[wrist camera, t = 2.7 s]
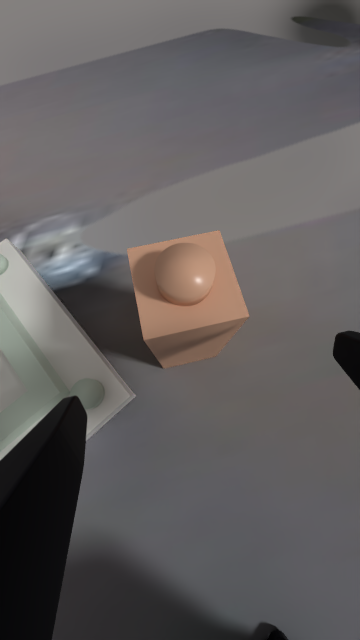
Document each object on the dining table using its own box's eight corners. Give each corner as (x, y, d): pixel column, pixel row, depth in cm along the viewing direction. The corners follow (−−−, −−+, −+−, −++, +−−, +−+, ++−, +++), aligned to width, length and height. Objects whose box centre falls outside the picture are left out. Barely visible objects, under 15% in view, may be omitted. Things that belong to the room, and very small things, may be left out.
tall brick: (215, 356, 19) (257, 307, 8) (163, 368, 18) (139, 333, 8) (202, 308, 20) (223, 214, 10) (153, 318, 20) (121, 234, 9)
